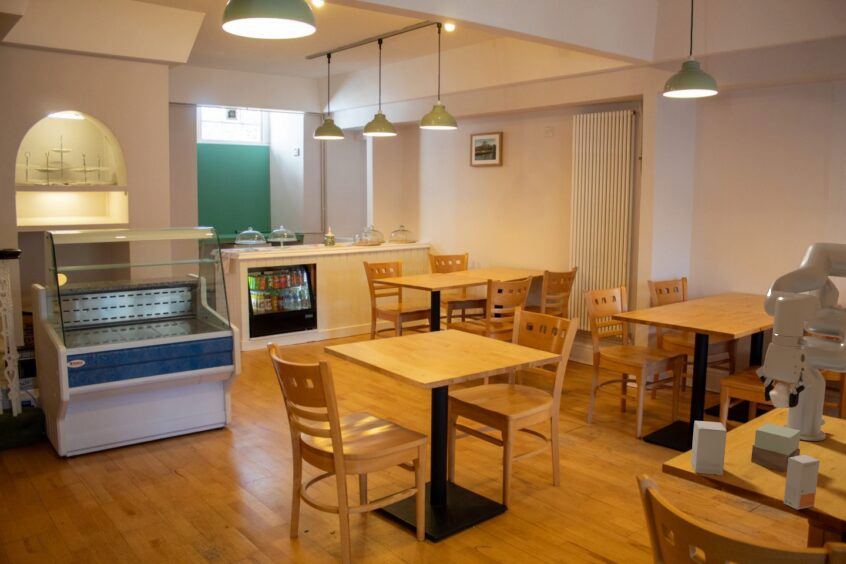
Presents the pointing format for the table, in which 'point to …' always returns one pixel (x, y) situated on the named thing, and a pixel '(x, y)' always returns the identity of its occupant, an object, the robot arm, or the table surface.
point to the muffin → (780, 395)
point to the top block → (777, 438)
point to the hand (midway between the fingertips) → (780, 403)
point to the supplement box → (708, 447)
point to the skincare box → (801, 482)
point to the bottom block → (772, 458)
